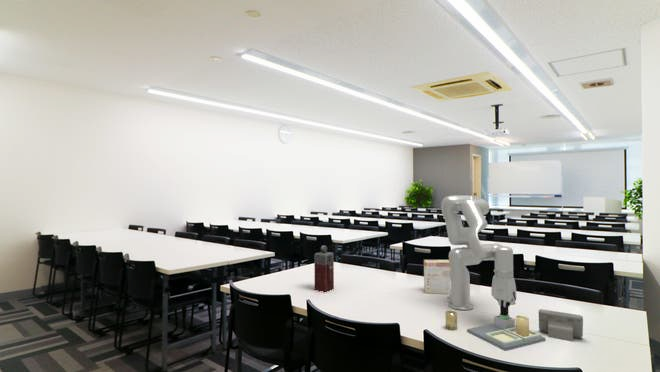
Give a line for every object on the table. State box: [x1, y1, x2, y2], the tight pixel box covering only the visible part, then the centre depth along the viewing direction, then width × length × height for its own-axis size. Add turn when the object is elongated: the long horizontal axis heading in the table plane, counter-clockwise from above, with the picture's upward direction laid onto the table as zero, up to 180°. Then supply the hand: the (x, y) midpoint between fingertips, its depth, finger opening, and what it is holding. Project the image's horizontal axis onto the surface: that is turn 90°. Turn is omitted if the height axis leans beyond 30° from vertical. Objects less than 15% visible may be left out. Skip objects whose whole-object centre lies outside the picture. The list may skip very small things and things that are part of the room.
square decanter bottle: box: [313, 245, 335, 293], centre depth 221 cm, size 9×11×28 cm
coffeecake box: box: [423, 259, 451, 295], centre depth 215 cm, size 15×7×20 cm, turn 84°
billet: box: [445, 310, 458, 331], centre depth 160 cm, size 5×5×7 cm
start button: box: [498, 313, 510, 320], centre depth 158 cm, size 4×4×4 cm
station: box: [466, 315, 546, 351], centre depth 151 cm, size 20×23×8 cm
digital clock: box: [538, 308, 584, 342], centre depth 151 cm, size 16×9×11 cm, turn 46°
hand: (504, 314), depth 158 cm, fingers closed
